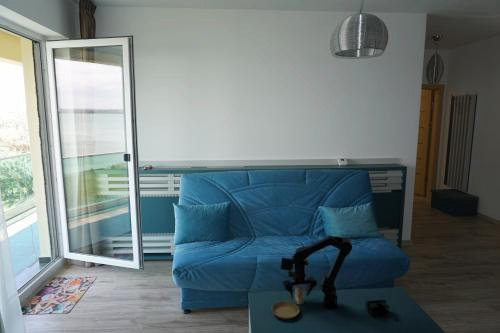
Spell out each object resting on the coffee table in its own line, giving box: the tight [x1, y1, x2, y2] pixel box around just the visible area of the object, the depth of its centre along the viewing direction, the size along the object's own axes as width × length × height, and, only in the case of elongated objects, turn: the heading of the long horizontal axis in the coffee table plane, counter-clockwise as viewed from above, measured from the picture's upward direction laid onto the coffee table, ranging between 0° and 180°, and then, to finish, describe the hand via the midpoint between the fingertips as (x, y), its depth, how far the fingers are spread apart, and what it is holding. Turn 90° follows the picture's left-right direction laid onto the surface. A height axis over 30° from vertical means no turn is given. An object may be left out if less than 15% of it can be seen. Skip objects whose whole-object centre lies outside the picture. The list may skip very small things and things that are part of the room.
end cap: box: [364, 298, 390, 318], centre depth 174 cm, size 10×7×7 cm
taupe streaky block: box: [294, 285, 305, 305], centre depth 185 cm, size 3×5×8 cm, turn 15°
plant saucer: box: [271, 300, 301, 320], centre depth 175 cm, size 15×15×3 cm
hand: (299, 297), depth 185 cm, fingers open, 9 cm apart
